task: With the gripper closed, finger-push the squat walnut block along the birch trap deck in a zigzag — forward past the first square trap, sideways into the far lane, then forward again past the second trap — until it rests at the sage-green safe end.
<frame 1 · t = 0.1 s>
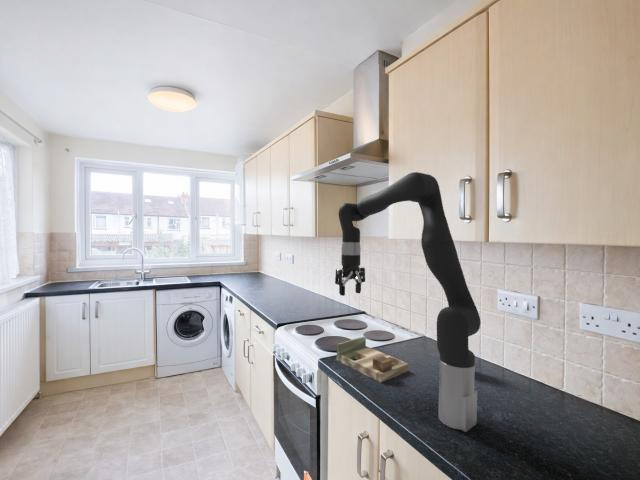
hand: (350, 294, 125), 29 cm above the worktop, fingers open, 8 cm apart
trap deck: (372, 366, 126), on the worktop
syrup box: (455, 370, 124), on the worktop
walnut block: (382, 368, 117), point 3 cm above the worktop, touching trap deck
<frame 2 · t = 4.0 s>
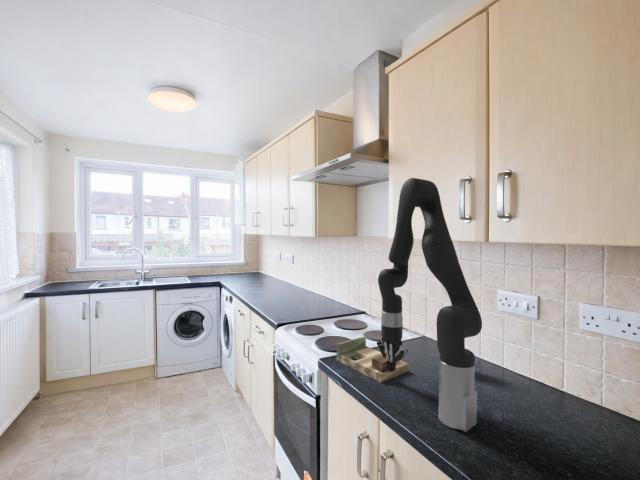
hand: (391, 370, 113), 4 cm above the worktop, fingers closed
walnut block: (381, 368, 117), point 3 cm above the worktop, touching gripper, trap deck
everything else where it was.
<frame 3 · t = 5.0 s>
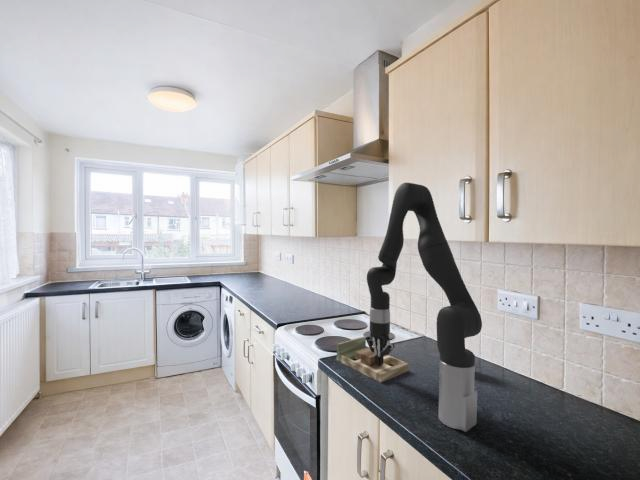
hand: (379, 365, 118), 4 cm above the worktop, fingers closed
walnut block: (369, 363, 121), point 3 cm above the worktop, touching gripper, trap deck
everything else where it was.
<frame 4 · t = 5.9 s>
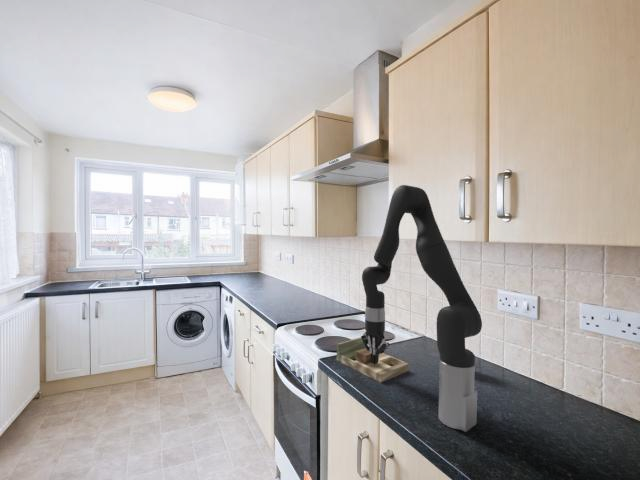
hand: (374, 363, 120), 4 cm above the worktop, fingers closed
walnut block: (365, 360, 123), point 3 cm above the worktop, touching gripper, trap deck
everything else where it was.
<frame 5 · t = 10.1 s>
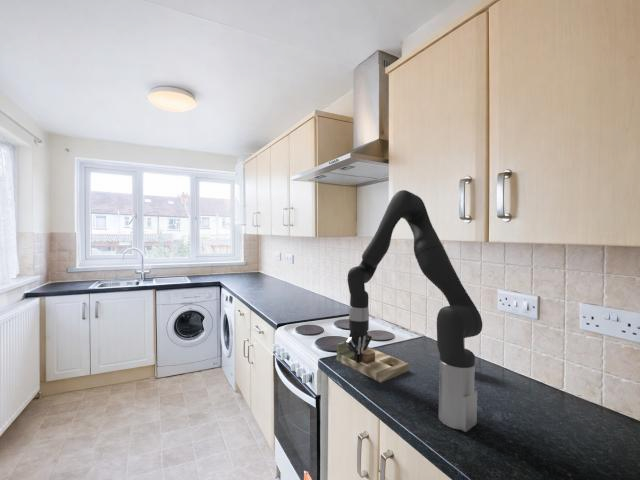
hand: (358, 362, 120), 4 cm above the worktop, fingers closed
walnut block: (365, 360, 124), point 3 cm above the worktop, touching trap deck
everything else where it was.
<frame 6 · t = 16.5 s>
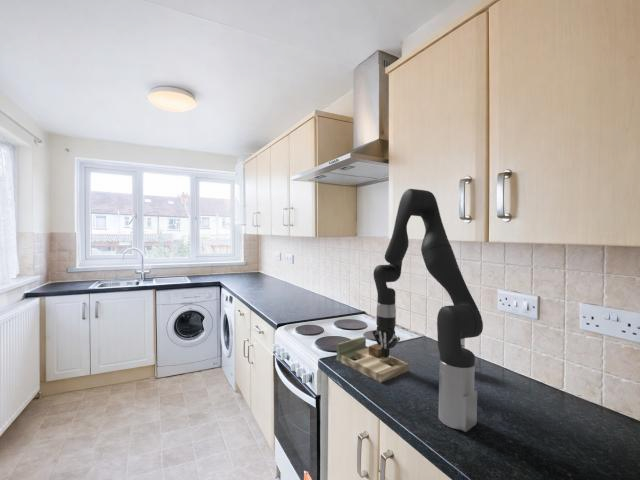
hand: (385, 356, 126), 4 cm above the worktop, fingers closed
walnut block: (377, 354, 130), point 3 cm above the worktop, touching trap deck
everything else where it was.
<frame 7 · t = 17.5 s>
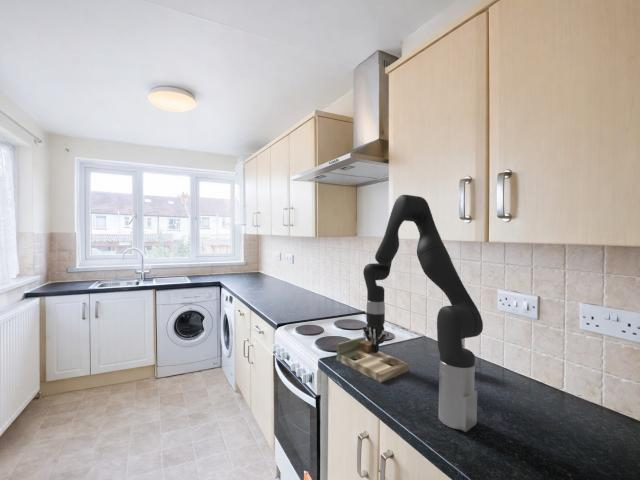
hand: (374, 352, 130), 4 cm above the worktop, fingers closed
walnut block: (367, 350, 134), point 3 cm above the worktop, touching gripper, trap deck
everything else where it was.
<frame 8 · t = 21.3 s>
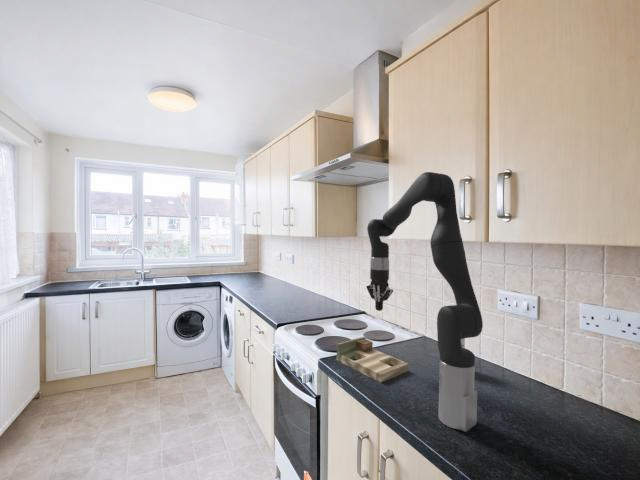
hand: (378, 310, 128), 22 cm above the worktop, fingers closed
walnut block: (364, 349, 136), point 3 cm above the worktop, touching trap deck
everything else where it was.
at the end: walnut block 0.5 cm from the target spot, point 3.0 cm above the worktop; walnut block tilted 0° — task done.
